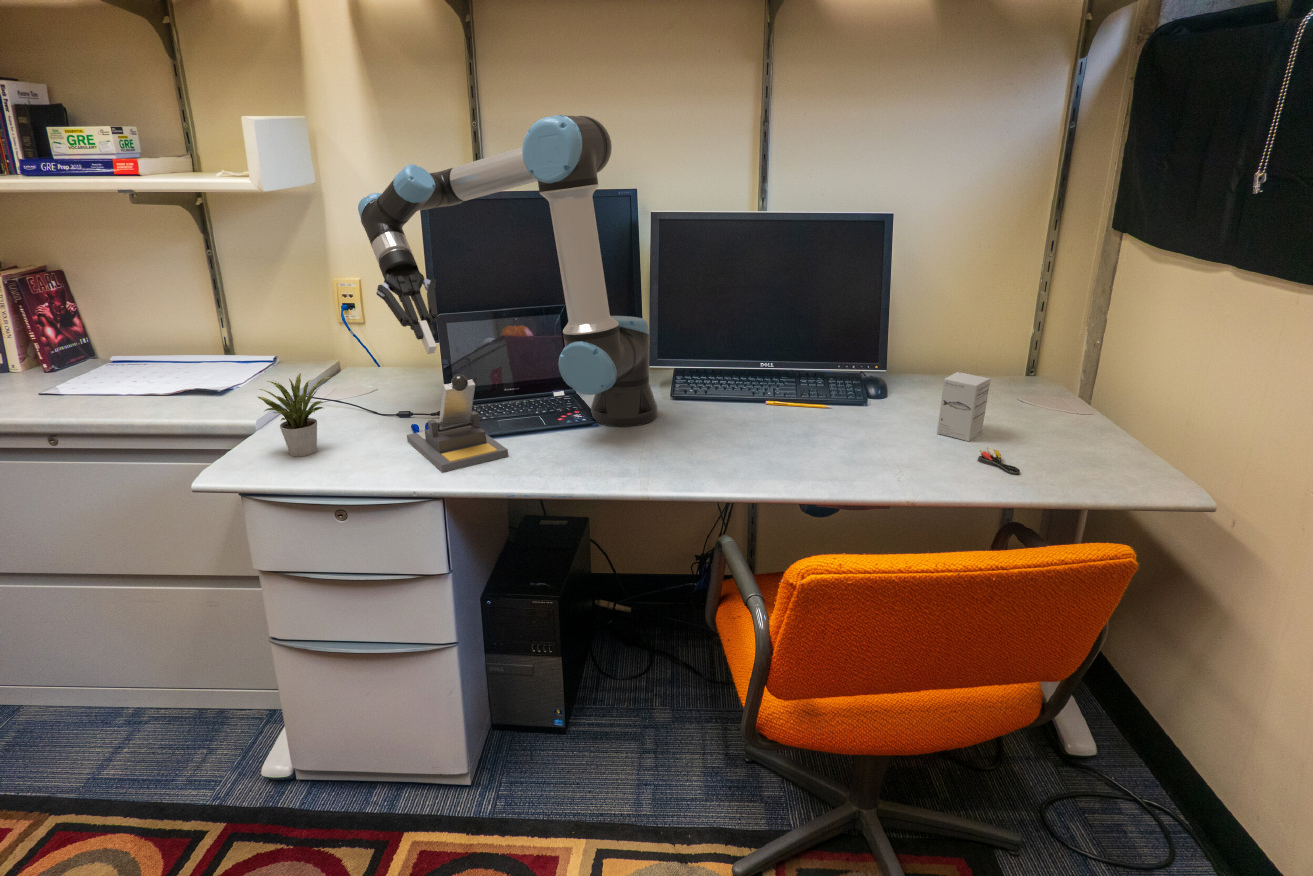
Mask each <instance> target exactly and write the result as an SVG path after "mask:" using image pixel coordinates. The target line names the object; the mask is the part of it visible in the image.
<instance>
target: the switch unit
mask: <svg viewBox="0 0 1313 876" xmlns="http://www.w3.org/2000/svg"><path fill="white" fill-rule="evenodd" d="M471 419H472V425H471V426H466V427H461V428H457V429H452V430H447V431H443V432H438V427H437V423H438V421H436V420H435V419H430V420H427V425H428V428H427V429H425V430H423V431H420V432H415V433H410V434H406V438H407V439H406V440H407V443H409V444H410V445H411V446H412V447H413V448H414V449H415V450H416V451H417V452H418V453H419V454H421V456H423V457H424V458H426V460H427V461H429V462H430V463H431V464H432V465H433V466H435V468H437V469H438V470H439V472H441V473H445V472H450V471H453V470H457V469H462V468H466V467H469V466H474V465H478V464H483V463H486V462H487V463H488V462H491V461H495V460H499V459H503V458H507V457H509V450H508V448H506V447H505V446H503V445H502V444H501V443H500V442H498V441H496V440H495V439H494V438H493V437H491V436H489V435H488V434H487V433H486V430H484V429H483V428H481V425H480V424H481V423H480V422H481V421H480V414H479V412H478V411H476V410H474V411H471Z"/></svg>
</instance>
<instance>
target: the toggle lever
mask: <svg viewBox="0 0 1313 876" xmlns="http://www.w3.org/2000/svg"><path fill="white" fill-rule="evenodd" d="M450 382H451V383H446V384H445V383H443V384H442V391H441V401H440V410H439V411H440V412H439V420H438V421H437V427H438V432H443V431H447V430H452V429H457V428H461V427H466V426H471V425H472V419H471V412H473V411H472V410H473V403H474V395H475V388H476V383H475V382H474V380H473V378H472V379H468V378H467V377H466V376H465V375H464V374H455V375H454V376H453V377H452V378H451V381H450Z"/></svg>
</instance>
